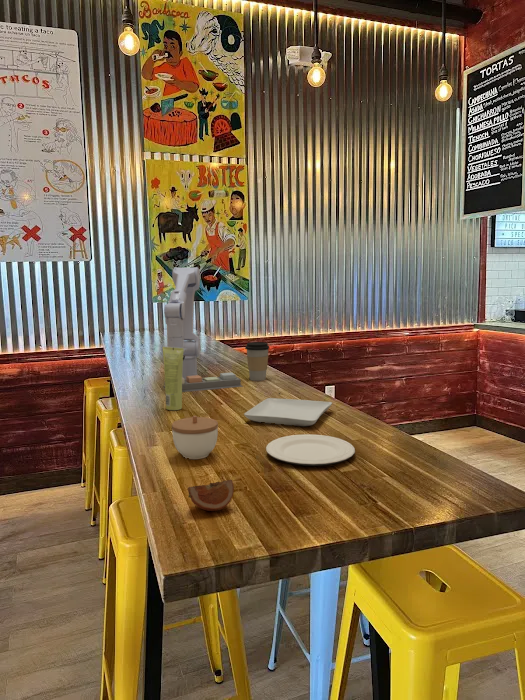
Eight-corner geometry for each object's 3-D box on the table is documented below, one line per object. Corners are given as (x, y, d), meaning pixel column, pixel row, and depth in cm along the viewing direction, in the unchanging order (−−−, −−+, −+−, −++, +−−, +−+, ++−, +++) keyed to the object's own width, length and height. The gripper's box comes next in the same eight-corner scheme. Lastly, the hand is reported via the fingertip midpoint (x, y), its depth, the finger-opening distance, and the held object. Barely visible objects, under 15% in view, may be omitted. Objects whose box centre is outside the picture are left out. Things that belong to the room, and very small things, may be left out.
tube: (182, 406, 173) (180, 345, 170) (185, 409, 169) (183, 347, 166) (164, 407, 171) (162, 346, 168) (167, 411, 167) (165, 348, 164)
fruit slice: (192, 520, 95) (191, 492, 94) (184, 504, 101) (183, 479, 100) (238, 512, 98) (237, 485, 97) (227, 497, 104) (226, 472, 103)
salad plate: (242, 424, 153) (242, 413, 153) (267, 406, 173) (267, 396, 172) (315, 432, 146) (315, 419, 146) (333, 412, 166) (333, 401, 165)
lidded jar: (177, 447, 133) (176, 410, 132) (220, 447, 133) (220, 410, 131) (168, 462, 122) (167, 422, 121) (215, 463, 122) (215, 422, 121)
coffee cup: (270, 379, 214) (270, 341, 212) (268, 384, 205) (268, 345, 203) (247, 379, 215) (246, 341, 213) (243, 384, 206) (243, 345, 204)
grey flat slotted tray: (162, 388, 198) (162, 380, 198) (232, 382, 208) (232, 374, 208) (169, 395, 187) (169, 386, 187) (243, 389, 197) (243, 380, 197)
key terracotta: (186, 381, 197) (186, 376, 197) (198, 380, 199) (198, 375, 199) (189, 384, 193) (189, 378, 193) (202, 382, 195) (202, 377, 195)
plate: (332, 478, 114) (332, 469, 113) (248, 460, 124) (248, 452, 124) (368, 450, 131) (368, 442, 131) (292, 436, 142) (292, 429, 142)
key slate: (220, 378, 202) (219, 373, 202) (231, 377, 204) (231, 372, 204) (223, 381, 198) (223, 375, 198) (235, 380, 200) (235, 374, 199)
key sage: (203, 383, 200) (203, 377, 200) (215, 382, 202) (215, 376, 201) (207, 385, 196) (206, 380, 195) (219, 384, 197) (219, 379, 197)
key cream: (169, 383, 195) (168, 377, 195) (181, 381, 197) (181, 376, 196) (171, 385, 191) (171, 379, 191) (184, 384, 193) (184, 378, 192)
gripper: (191, 338, 186) (192, 377, 188) (181, 334, 199) (182, 370, 201) (171, 339, 184) (172, 379, 185) (162, 335, 197) (163, 372, 199)
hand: (176, 374), depth 193 cm, fingers closed
